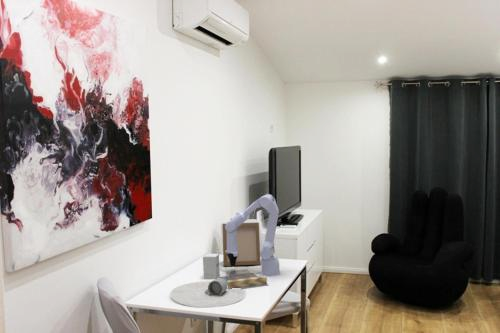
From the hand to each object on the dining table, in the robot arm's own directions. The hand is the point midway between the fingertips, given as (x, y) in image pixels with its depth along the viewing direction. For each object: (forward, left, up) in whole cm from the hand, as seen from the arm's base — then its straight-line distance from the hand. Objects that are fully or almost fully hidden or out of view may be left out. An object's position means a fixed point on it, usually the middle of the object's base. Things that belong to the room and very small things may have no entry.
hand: (232, 266), depth 267 cm
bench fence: (0, +25, -4) cm, 26 cm away
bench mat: (0, +18, -4) cm, 19 cm away
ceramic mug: (+17, +32, -4) cm, 36 cm away
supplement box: (+13, +3, -4) cm, 14 cm away
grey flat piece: (0, +11, -4) cm, 12 cm away
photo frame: (-11, -19, -4) cm, 23 cm away
